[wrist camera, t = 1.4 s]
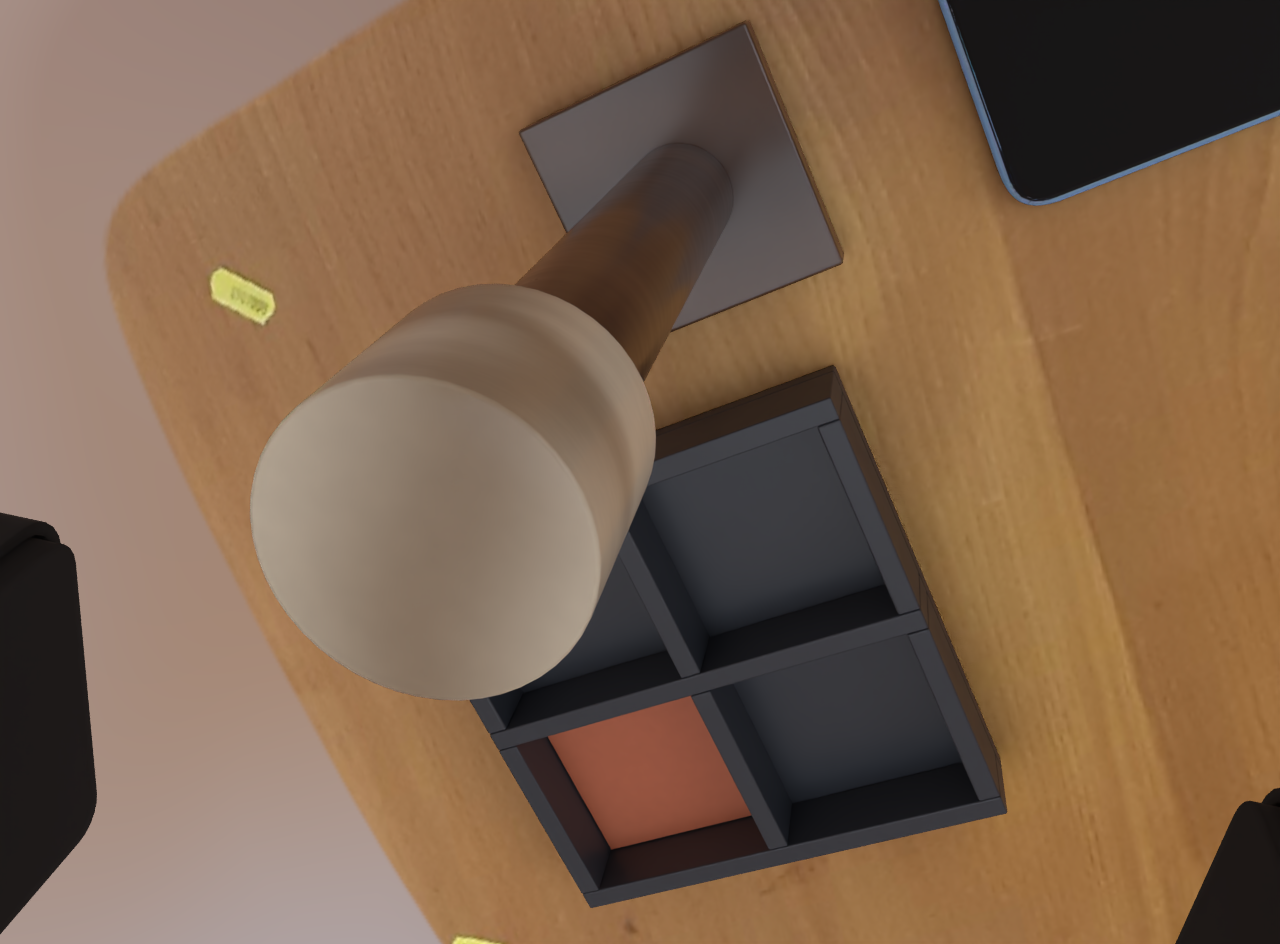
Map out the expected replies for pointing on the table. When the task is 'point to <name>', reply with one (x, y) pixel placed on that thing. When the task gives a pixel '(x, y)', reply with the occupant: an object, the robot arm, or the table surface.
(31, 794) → the robot arm
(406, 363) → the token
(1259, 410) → the table surface
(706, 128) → the stand
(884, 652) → the grid
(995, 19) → the smartphone
